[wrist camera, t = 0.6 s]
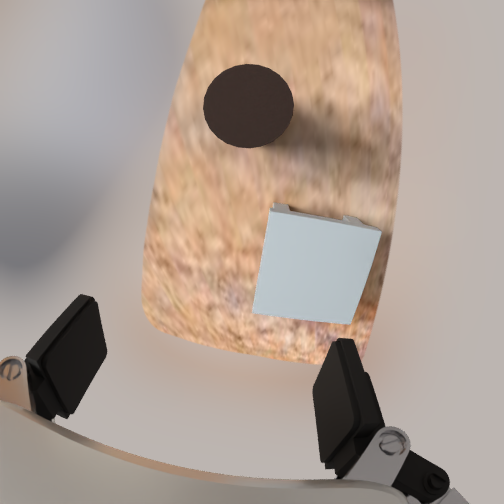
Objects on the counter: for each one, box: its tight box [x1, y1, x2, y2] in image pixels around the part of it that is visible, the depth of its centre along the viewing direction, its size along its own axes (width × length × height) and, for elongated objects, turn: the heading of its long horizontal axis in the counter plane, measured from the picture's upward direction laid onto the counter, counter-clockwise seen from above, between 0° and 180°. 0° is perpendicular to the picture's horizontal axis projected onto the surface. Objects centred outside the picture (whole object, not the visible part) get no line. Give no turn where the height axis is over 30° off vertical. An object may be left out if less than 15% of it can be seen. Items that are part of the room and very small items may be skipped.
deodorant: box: [203, 64, 294, 148], centre depth 24 cm, size 6×6×15 cm
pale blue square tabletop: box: [252, 202, 382, 325], centre depth 33 cm, size 12×12×7 cm
